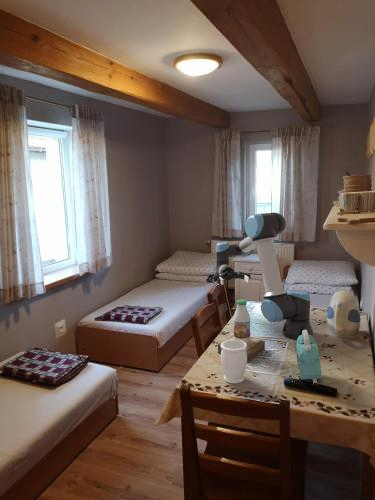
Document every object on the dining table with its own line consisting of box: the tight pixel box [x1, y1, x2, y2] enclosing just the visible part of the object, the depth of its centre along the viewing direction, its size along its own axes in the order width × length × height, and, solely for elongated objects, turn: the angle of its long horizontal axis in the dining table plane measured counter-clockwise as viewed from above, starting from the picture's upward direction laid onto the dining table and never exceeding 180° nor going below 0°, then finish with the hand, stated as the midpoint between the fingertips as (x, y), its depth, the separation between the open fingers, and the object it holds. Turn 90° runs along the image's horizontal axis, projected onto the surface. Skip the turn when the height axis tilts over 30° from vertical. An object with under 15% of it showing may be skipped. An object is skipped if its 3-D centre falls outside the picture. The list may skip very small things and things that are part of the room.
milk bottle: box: [233, 298, 251, 344], centre depth 183 cm, size 8×8×20 cm
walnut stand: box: [217, 334, 266, 363], centre depth 185 cm, size 16×16×5 cm
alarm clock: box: [296, 330, 323, 384], centre depth 157 cm, size 17×10×20 cm, turn 168°
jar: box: [220, 339, 248, 384], centre depth 159 cm, size 11×10×15 cm
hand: (235, 281), depth 201 cm, fingers open, 13 cm apart
